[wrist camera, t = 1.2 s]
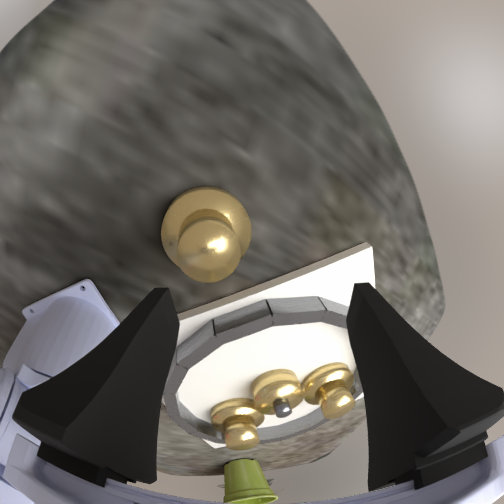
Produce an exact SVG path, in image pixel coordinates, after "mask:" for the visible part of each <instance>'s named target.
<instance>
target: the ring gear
mask: <svg viewBox="0 0 504 504" xmlns="http://www.w3.org/2000/svg"><path fill="white" fill-rule="evenodd" d="M348 309H349V306H346V305H343V304H340V303H337V302H334V301H331V300H328V299H325V298H322V297H320V296H318V297H317V296H306V297H290V298H271V299H266V301H265V299H264V300H261V301H258V302H256V303H253V304H250V305H248V306H245V307H242V308H240V309H237V310H234V311H231V312H229V313H226V314H223V315H220V316H217V317H215V318H214V320H213V319H211V320H210V321H209V322H207V323H206V324H205V325H204V326H202V327H201V328H200V329H199V330H197V331H196V332H195V333H193V334H192V335H191V336H190V337H188V338H187V339H186V340H185V341H183V342H182V343H181V344H180V345H178V346H177V348H176V349H175V353H174V356H173V360H172V363H171V367H170V370H169V374H168V377H167V381H166V384H165V388H164V392H163V398H164V401H165V405H166V409H167V412H168V416H169V417H170V418H171V419H172V420H173V421H174V422H175V423H177V424H178V425H179V426H180V427H181V428H182V429H184V430H185V431H186V432H187V433H188V434H191V435H194V436H196V437H199V438H202V439H205V440H208V441H211V442H214V443H219V444H226V443H225V437H224V433H222V432H219V431H217V430H215V429H214V428H213V427H212V424H211V423H209V422H207V421H204V420H202V419H199V418H197V417H195V416H194V415H193V414H192V413H191V412H190V411H189V410H188V409H187V408H186V407H185V406H184V405H183V404H182V403H181V402H180V400H179V395H178V389H179V387H180V385H181V383H182V381H183V380H184V378H185V376H186V374H187V372H188V370H189V369H190V368H191V367H193V366H194V365H196V364H197V363H199V362H200V361H201V360H203V359H204V358H205V357H207V356H208V355H210V354H211V353H212V352H214V351H215V350H216V349H218V348H219V347H221V346H222V345H223V344H226V343H229V342H232V341H234V340H237V339H240V338H243V337H246V336H249V335H251V334H254V333H257V332H260V331H262V330H265V329H268V328H270V327H273V326H285V325H296V324H306V323H316V322H323V323H326V324H330V325H334V326H338V327H341V328H345V329H347V324H346V317H347V313H348ZM353 376H354V383H353V385H352V386H351V388H350V389H349V391H350V393H351V394H352V396H353V398H354V400H355V399H357V398H358V397H359V396H360V395H361V394H362V393H363V389H362V385H361V381H360V378H359V374H358V370H357V367H356V369H355V371H354V373H353ZM329 420H330V419H326V418H325V417H324V415H323V413H322V410H321V408H320V407H319V408H317V409H316V410H314V411H312V412H311V413H309V414H307V415H305V416H303V417H300V418H297V419H295V420H292V421H289V422H286V423H283V424H280V425H276V426H270V427H263V428H256V429H257V433H258V436H259V440H260V442H259V444H264V443H270V442H276V441H282V440H285V439H288V438H291V437H294V436H297V435H300V434H302V433H305V432H308V431H310V430H313V429H315V428H317V427H319V426H320V425H322V424H324V423H325V422H327V421H329Z"/></svg>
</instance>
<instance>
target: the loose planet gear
mask: <svg viewBox="0 0 504 504" xmlns="http://www.w3.org/2000/svg"><path fill="white" fill-rule="evenodd" d="M161 239H162V244H163V247H164V250H165V252H166V253H167V255H168V257H169V258H170V259H171V260H172V261H173V262H174V263H175V264H176V265H177V266H178V267H180V268H181V269H182V271H183V272H184V273H185V274H186V275H187V276H188V277H190V278H192V279H194V280H196V281H199V282H206V283H210V282H217V281H220V280H222V279H224V278H226V277H228V276H229V275H230V274H231V273H232V272H233V271H234V270H235V269H236V267H237V265H238V263H239V261H240V260H241V258H242V257H243V256H244V254H245V253H246V251H247V249H248V247H249V244H250V240H251V223H250V219H249V217H248V215H247V213H246V211H245V209H244V208H243V206H242V204H241V203H240V202H239V200H238V199H237V198H236V197H235V196H234V195H232V194H231V193H230V192H228V191H226V190H224V189H221V188H219V187H214V186H199V187H194V188H191V189H189V190H187V191H185V192H183V193H181V194H180V195H179V196H178V197H176V198H175V199H174V200H173V202H172V203H171V204H170V206H169V207H168V209H167V211H166V214H165V217H164V220H163V223H162V228H161Z"/></svg>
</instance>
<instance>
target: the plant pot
mask: <svg viewBox="0 0 504 504" xmlns="http://www.w3.org/2000/svg"><path fill="white" fill-rule="evenodd" d="M224 476H225V496H224V503H235V504H267V503H270V502H272V501H275V500H276V499H278V496H276V495H275V494H274V492H273V491H272V490H271V489H270V487H269V485H268V483H267V481H266V479H265V476H264V474H263V472H262V470H261V467H260V465H259V463H258V461H257V460H255V459H253V460H249V459H239V460H234V461H231V462H229V463H228V464H225V465H224Z"/></svg>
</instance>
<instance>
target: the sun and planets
mask: <svg viewBox="0 0 504 504" xmlns="http://www.w3.org/2000/svg"><path fill="white" fill-rule="evenodd" d="M353 383H354V376H353V374H352V372H351V370H350V369H349V367H348V366H347V365H346V364H345V363H342V362H333V363H329V364H325V365H323V366H321V367H319V368H317V369H315V370H314V371H312V372H311V373H309V374H308V375H307V376H306V377H305V378H304V380H303V381H302V383H301V385H300V383H299V380H298V378H297V375H296V374H295V373H294V372H293V371H291V370H289V369H274V370H270V371H267V372H265V373H263V374H261V375H259V376H258V377H257V378H256V379H255V380H254V381H253V382H252V384H251V392H252V396H253V399H250V398H233V399H228V400H225V401H222V402H220V403H218V404H216V405H215V406H214V407H213V408H212V409H211V411H210V416H211V424H212V427H213V428H214V429H215V430H217V431H219V432H222V433H224V437H225V443H226V447H227V448H228V449H231V450H245V449H250V448H252V447H255V446H256V445H258V444H259V442H260V440H259V436H258V433H257V429H256V428H257V427H258V426H260V425H261V424H262V423H263V421H264V419H265V417H264V414H265V415H276V417H278V418H284V417H287V416H289V415H290V414H291V413H292V409H294V408H295V407H297V406H298V405H299V404H300V403H301V402H302V401H303V399H305V401H306V402H307V403H308V404H311V405H319V406H320V408H321V410H322V413H323V415H324V417H325V418H326V419H334V418H338V417H340V416H342V415H344V414H346V413H348V412H349V411H350V410H351V409H352V408H353V407H354V406H355V404H356V402H355V400H354V398H353V396H352V394H351V393H350V391H349V389H350V388H351V386H352V385H353Z"/></svg>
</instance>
